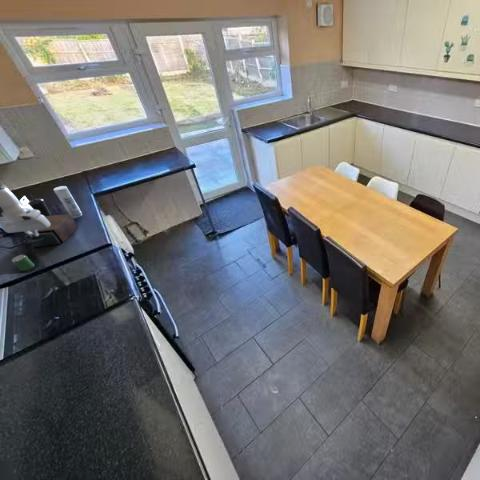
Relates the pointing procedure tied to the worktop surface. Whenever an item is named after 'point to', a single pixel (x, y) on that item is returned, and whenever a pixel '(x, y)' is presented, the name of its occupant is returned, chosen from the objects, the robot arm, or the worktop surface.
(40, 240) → the drawer
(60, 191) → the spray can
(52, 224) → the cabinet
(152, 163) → the worktop surface
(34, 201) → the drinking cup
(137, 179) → the worktop surface
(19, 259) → the green can
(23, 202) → the ink box
